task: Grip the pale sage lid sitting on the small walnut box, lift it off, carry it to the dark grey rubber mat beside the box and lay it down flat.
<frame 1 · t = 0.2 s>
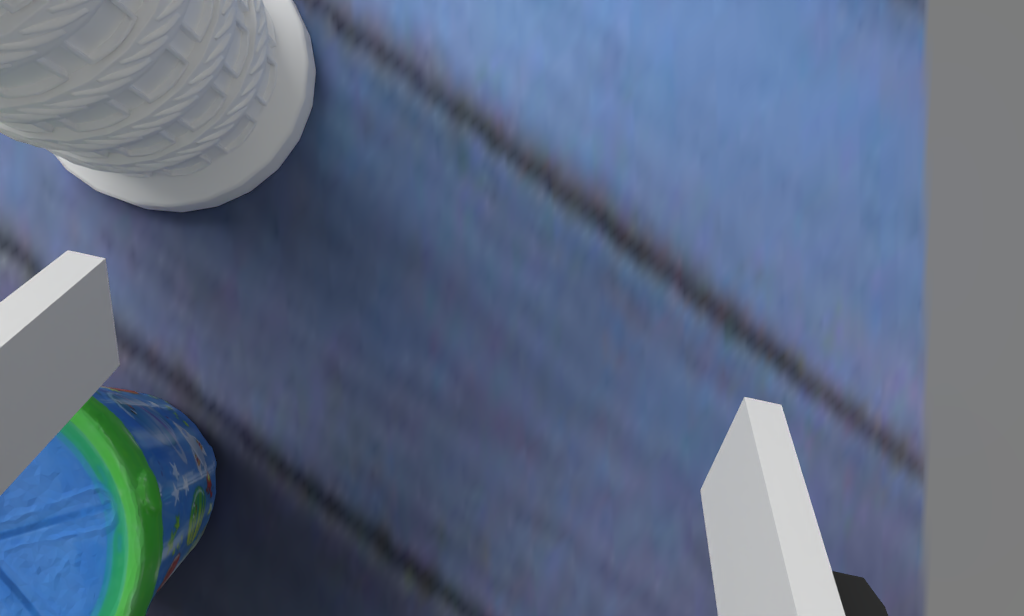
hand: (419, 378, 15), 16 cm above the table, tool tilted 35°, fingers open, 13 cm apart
decorative container: (181, 78, 32), on the table
snack cup: (136, 481, 31), on the table
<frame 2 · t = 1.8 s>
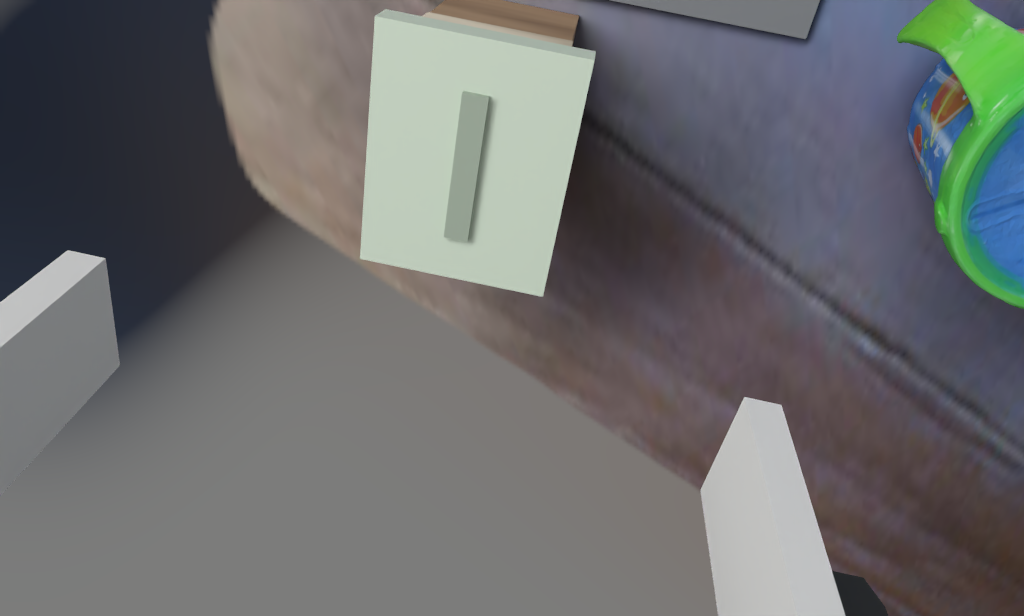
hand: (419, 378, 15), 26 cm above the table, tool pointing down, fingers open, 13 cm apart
snack cup: (988, 107, 36), on the table
lid: (472, 156, 30), point 9 cm above the table, touching walnut box
walnut box: (502, 95, 38), on the table
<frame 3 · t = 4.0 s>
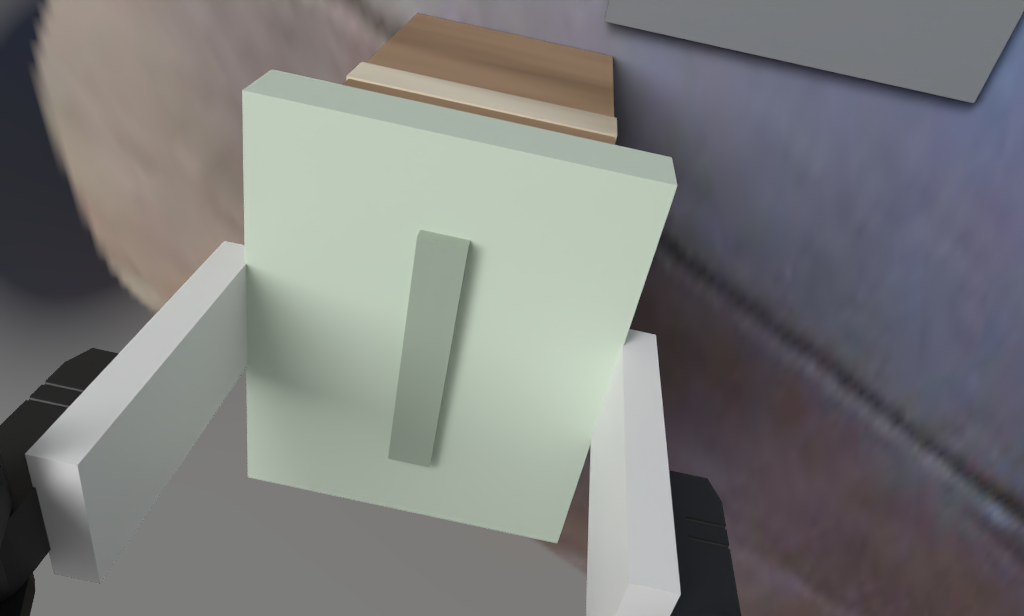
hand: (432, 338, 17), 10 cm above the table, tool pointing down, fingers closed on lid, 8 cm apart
lid: (439, 320, 17), point 9 cm above the table, touching gripper, walnut box
walnut box: (490, 172, 25), on the table
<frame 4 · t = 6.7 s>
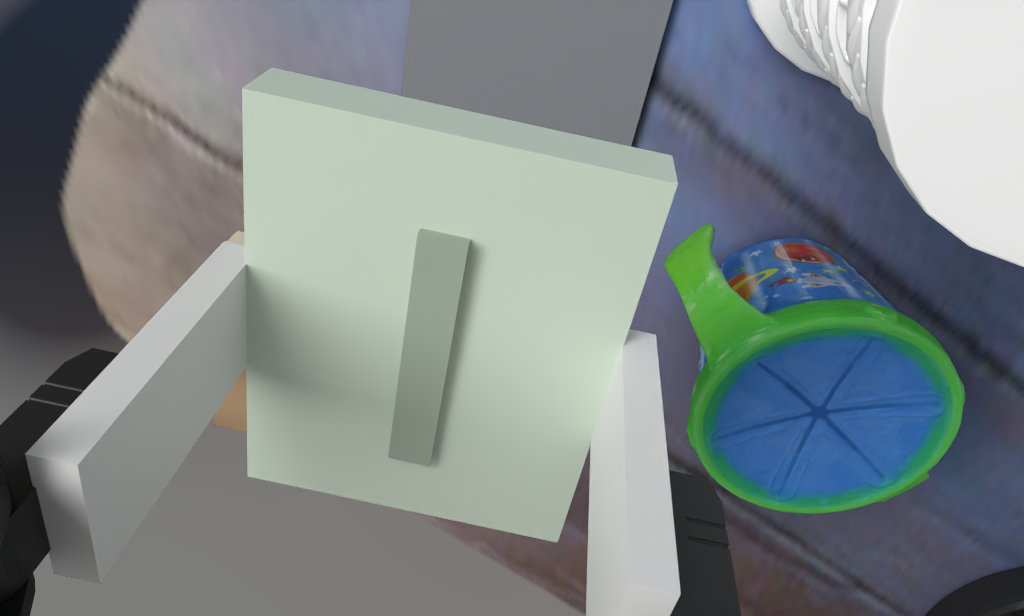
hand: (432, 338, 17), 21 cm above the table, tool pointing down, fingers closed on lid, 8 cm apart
snack cup: (775, 294, 39), on the table
mat: (524, 83, 34), on the table
lid: (439, 319, 17), point 20 cm above the table, touching gripper
walnut box: (338, 267, 41), on the table
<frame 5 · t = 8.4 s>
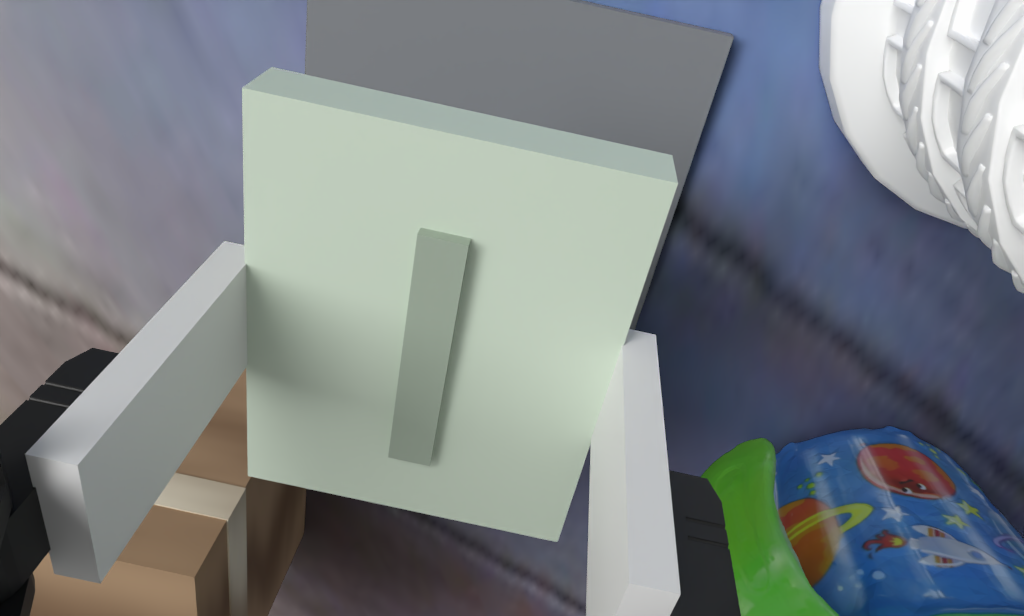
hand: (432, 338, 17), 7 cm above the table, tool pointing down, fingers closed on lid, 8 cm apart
snack cup: (847, 491, 27), on the table
mat: (482, 212, 23), on the table
lid: (439, 318, 17), point 6 cm above the table, touching gripper
walnut box: (232, 441, 29), on the table
when the fingers open (3 cm above the table, at t = 9.7 s): lid drops 2 cm, resting on mat.
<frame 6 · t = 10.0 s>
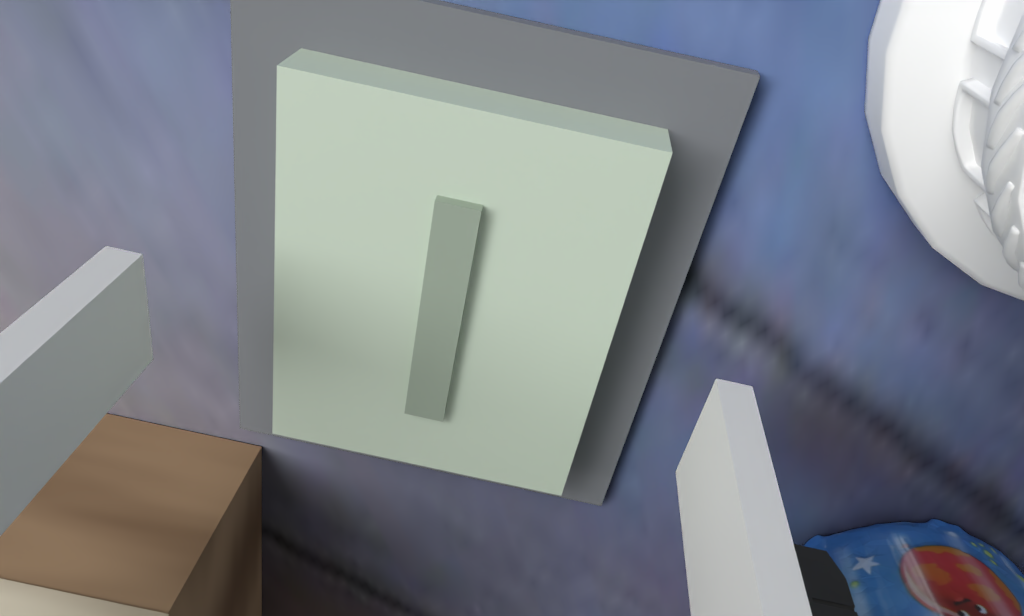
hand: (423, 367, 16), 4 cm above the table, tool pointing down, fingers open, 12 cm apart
snack cup: (880, 585, 24), on the table
mat: (454, 277, 19), on the table
lid: (452, 284, 19), resting on mat
walnut box: (175, 522, 25), on the table
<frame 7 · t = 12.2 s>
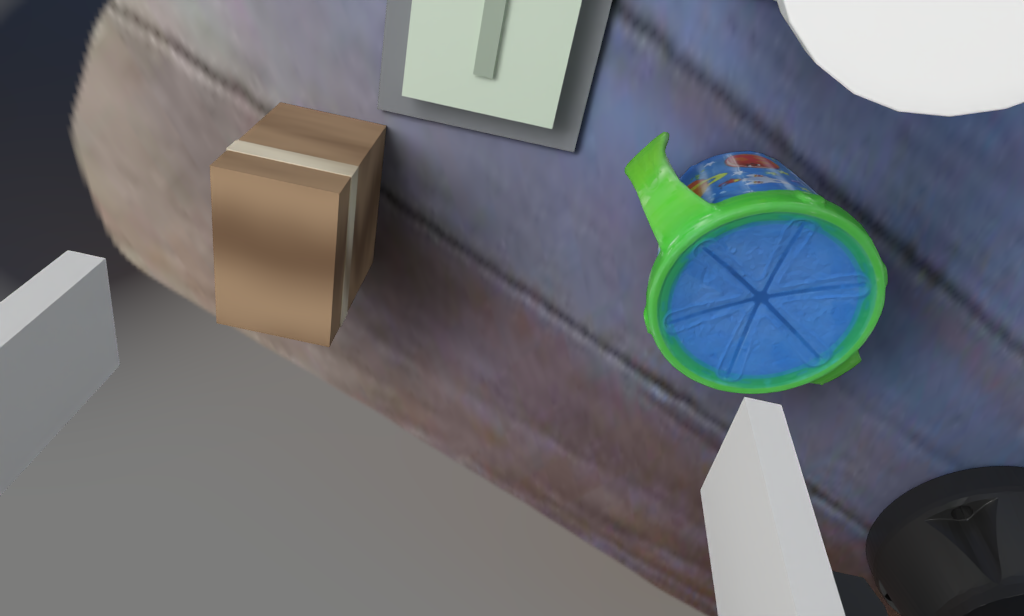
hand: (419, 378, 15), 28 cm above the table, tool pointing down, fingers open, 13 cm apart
snack cup: (730, 208, 42), on the table
mat: (497, 6, 37), on the table
lid: (497, 7, 37), resting on mat
walnut box: (329, 186, 44), on the table
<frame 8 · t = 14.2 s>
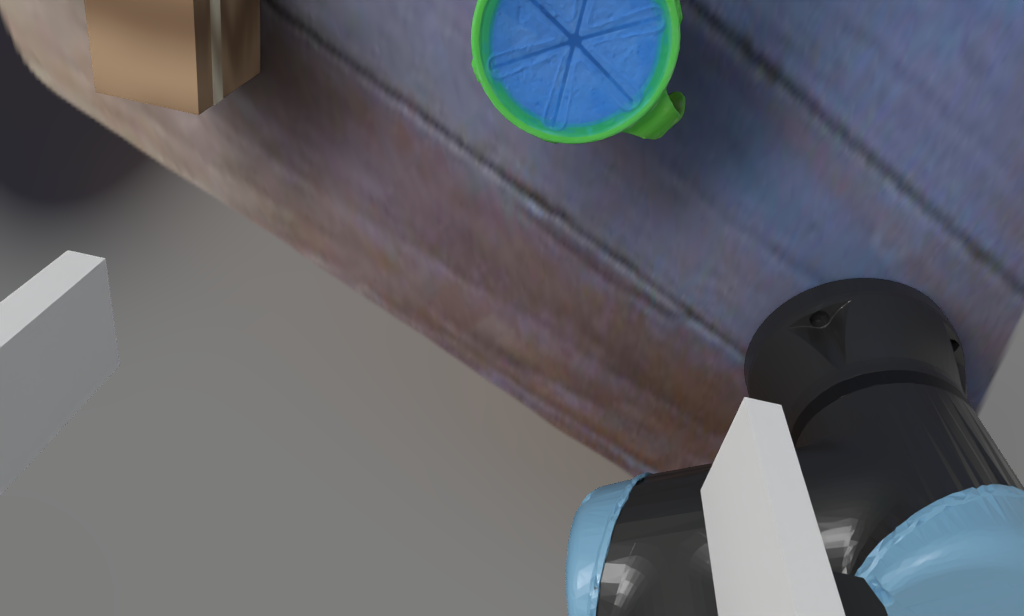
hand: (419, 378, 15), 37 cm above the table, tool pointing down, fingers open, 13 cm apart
snack cup: (579, 4, 46), on the table
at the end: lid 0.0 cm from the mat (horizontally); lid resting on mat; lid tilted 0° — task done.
